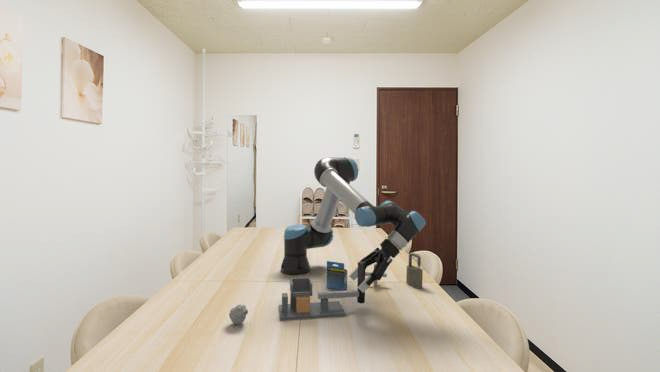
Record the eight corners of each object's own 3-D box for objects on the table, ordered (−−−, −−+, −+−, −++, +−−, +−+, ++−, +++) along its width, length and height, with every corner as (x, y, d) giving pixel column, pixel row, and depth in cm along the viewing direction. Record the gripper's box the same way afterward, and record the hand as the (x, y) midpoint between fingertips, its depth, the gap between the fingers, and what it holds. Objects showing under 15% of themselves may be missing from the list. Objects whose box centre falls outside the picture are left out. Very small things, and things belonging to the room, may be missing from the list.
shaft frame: (280, 320, 127) (280, 287, 127) (278, 307, 139) (278, 277, 138) (345, 316, 132) (346, 284, 131) (339, 303, 143) (339, 274, 143)
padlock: (416, 288, 161) (417, 256, 160) (405, 283, 168) (405, 251, 167) (423, 287, 163) (424, 255, 162) (411, 282, 170) (412, 251, 169)
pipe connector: (385, 289, 159) (386, 267, 159) (363, 288, 161) (363, 266, 161) (386, 282, 169) (387, 261, 168) (365, 281, 171) (366, 260, 170)
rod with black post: (318, 306, 134) (318, 265, 133) (317, 303, 137) (317, 263, 136) (365, 303, 138) (366, 263, 137) (363, 300, 141) (364, 261, 140)
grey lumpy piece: (239, 330, 120) (239, 309, 120) (225, 324, 124) (224, 305, 123) (252, 323, 125) (252, 303, 125) (238, 318, 129) (237, 299, 128)
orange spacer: (296, 312, 132) (296, 299, 132) (295, 307, 137) (295, 294, 137) (310, 311, 133) (310, 298, 132) (308, 306, 138) (308, 293, 137)
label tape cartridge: (347, 288, 161) (347, 261, 161) (344, 290, 158) (344, 263, 157) (329, 285, 165) (330, 258, 164) (326, 287, 162) (326, 260, 161)
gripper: (412, 259, 128) (371, 302, 126) (388, 243, 153) (354, 280, 151) (398, 245, 127) (357, 288, 125) (377, 231, 151) (342, 268, 150)
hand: (355, 284), depth 138 cm, fingers open, 13 cm apart
